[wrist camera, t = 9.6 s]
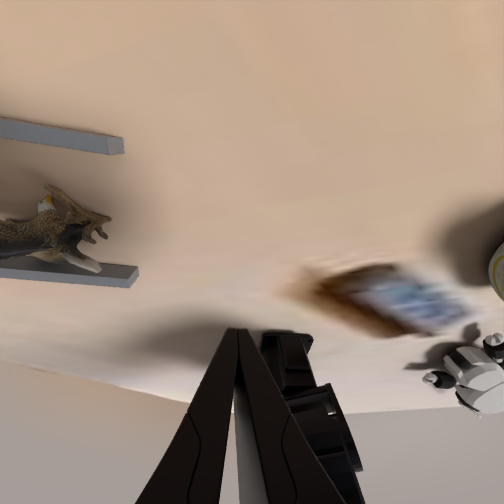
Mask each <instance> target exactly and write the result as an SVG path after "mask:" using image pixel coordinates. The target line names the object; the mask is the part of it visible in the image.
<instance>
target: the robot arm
mask: <svg viewBox="0 0 504 504" xmlns="http://www.w3.org/2000/svg"><path fill="white" fill-rule="evenodd" d="M312 343H313V337H312V336H310V335H295V334H279V333H264V334H263V335H262V338H261V342H260V346H259V350H258V348H257V346H256V344H255V342H254V340H253V338H252V336H251V334H250V332H249V331H248V329H246V328H238V329H237V328H232V327H228V328H227V329H226V331H225V334H224V336H223V338H222V340H221V342H220V344H219V346H218V348H217V350H216V352H215V354H214V356H213V358H212V360H211V362H210V364H209V367H208V369H207V371H206V373H205V375H204V377H203V379H202V381H201V383H200V385H199V387H198V389H197V391H196V393H195V395H194V397H193V400H192V402H191V404H190V406H189V408H188V410H187V413H186V414H185V416H184V418H183V420H182V422H181V424H180V426H179V428H178V430H177V432H176V434H175V436H174V438H173V440H172V442H171V443H170V445H169V447H168V449H167V451H166V452H165V454H164V456H163V458H162V459H161V461H160V463H159V465H158V466H157V468H156V470H155V471H154V473H153V475H152V476H151V478H150V480H149V481H148V483H147V484H146V486H145V488H144V489H143V491H142V493H141V494H140V496H139V498H138V499H137V501H136V503H135V504H219V499H220V491H221V484H222V476H223V469H224V461H225V454H226V446H227V439H228V431H229V423H230V416H231V409H232V401H233V399H234V415H235V433H236V448H237V465H238V482H239V500H240V504H365V501H364V498H363V495H362V492H361V489H360V486H359V483H358V480H357V477H356V474H355V472H360V471H363V468H362V464H361V461H360V458H359V454H358V451H357V449H356V446H355V443H354V440H353V437H352V435H351V432H350V430H349V427H348V424H347V422H346V420H345V417H344V415H343V412H342V410H341V408H340V405H339V403H338V400H337V398H336V396H335V393H334V391H333V388H332V386H331V384H330V383H327V384H325V385H323V386H319V387H317V385H316V382H315V379H314V375H313V372H312V369H311V365H310V362H309V359H308V356H307V354H308V352H309V350H310V348H311V345H312ZM331 412H333V414H331V415H328V413H331Z"/></svg>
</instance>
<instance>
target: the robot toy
mask: <svg viewBox="0 0 504 504" xmlns="http://www.w3.org/2000/svg"><path fill="white" fill-rule="evenodd" d="M483 346H484V349H485V350H486V352H487V353H488V354H489V355H491V356H490V357H489V356H488V355H486V354H485V353H484V352H483V351H482V350H481V349H479V348H475V347H469V346H468V345H467V346H465V347H460V348H457V350H456V351H454V352H452V353H451V354H450V355H449V356H447V355H446V356H445V357H444V358H443V359H444V361H445V367H446V369H447V370H448V371H449V372H450V373H451V374H452V375H453V376H454V378H453V377H452V376H451V375H449V374H448V373H446V372H443V371H432V372H431V373H427V374H426V375H425V377H423V378H422V379H423V382H425V383H426V384H429V385H430V384H434V385H435V386H436V387H437V388H444V389H450V388H452V387H453V386H455V388H456V392H455V394H456V396H457V398H458V400H459V401H458V402H459V404H460V405H461V406H463V407H466V408H467V409H468V410H470V411H471V412H472V413H474V414H475V415H476V416H477V417H478V418H480V419H481V416H480V415H479V414H477V413H475V412H474V411H472V410H475V411H482V412H483V413H485V414H490V413H498V412H501V411H504V338H503V336H502V334H499V333H495V334H494V335H493V336H492V335H490V336H487V337H486V338H485V339H484V340H483ZM471 409H472V410H471Z"/></svg>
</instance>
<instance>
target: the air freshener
mask: <svg viewBox="0 0 504 504" xmlns="http://www.w3.org/2000/svg"><path fill="white" fill-rule="evenodd" d="M488 272H489V279H490V282H491V284H492V287H493V288H494V290H495V292H496V293H497V294H498V296H499V297H500V298H501V299H502V300H503V301H504V242H503V243H502V244H501V245H500V247H499V248H498V249H497V251H496V252H495V253H494V255H493V257H492V259H491V261H490V264H489V269H488Z"/></svg>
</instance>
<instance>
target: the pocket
mask: <svg viewBox="0 0 504 504" xmlns="http://www.w3.org/2000/svg"><path fill="white" fill-rule="evenodd" d="M0 138H6V139H12V140H18V141H24V142H31V143H37V144H43V145H49V146H56V147H62V148H68V149H75V150H81V151H87V152H93V153H100V154H106V155H115V154H123V153H124V145H123V138H120V137H114V136H108V135H102V134H96V133H90V132H85V131H79V130H73V129H67V128H61V127H55V126H49V125H44V124H38V123H32V122H26V121H20V120H14V119H9V118H3V117H0ZM98 264H99V265H100V267H101V269H102V271H99V273H95V272H93V271H90V270H88V269H85V268H82V267H79V266H76V265H75V264H54V263H49V262H46V261H44V260H41V259H39V258H37V257H29V256H20V257H18V258H14V259H9V260H0V278H11V279H23V280H35V281H47V282H59V283H71V284H84V285H96V286H108V287H120V288H130V287H131V286H132V284H133V283H134V282H135V280H136V279H137V278H138V276H139V271H138V267H133V266H123V265H112V264H102V263H98Z"/></svg>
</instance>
